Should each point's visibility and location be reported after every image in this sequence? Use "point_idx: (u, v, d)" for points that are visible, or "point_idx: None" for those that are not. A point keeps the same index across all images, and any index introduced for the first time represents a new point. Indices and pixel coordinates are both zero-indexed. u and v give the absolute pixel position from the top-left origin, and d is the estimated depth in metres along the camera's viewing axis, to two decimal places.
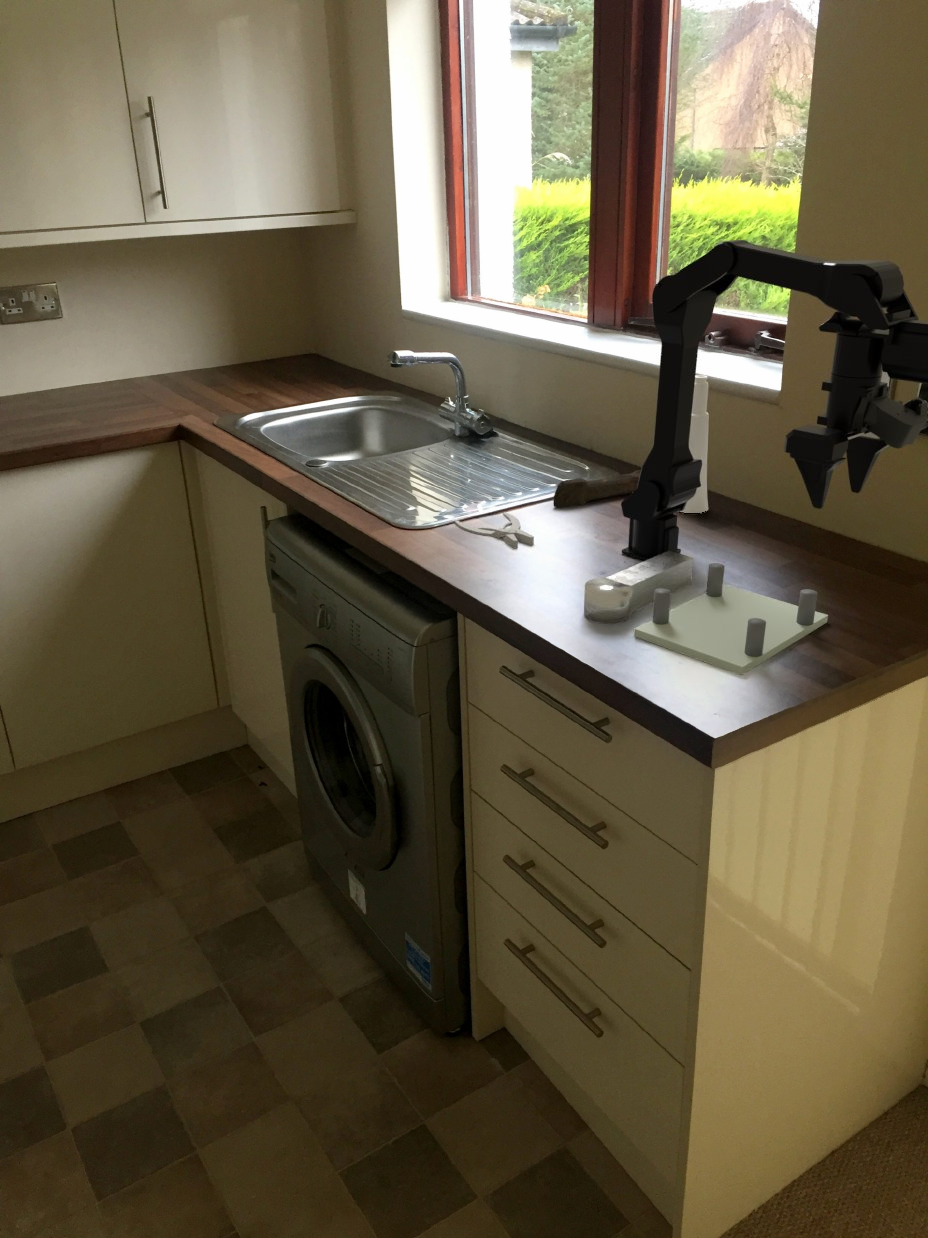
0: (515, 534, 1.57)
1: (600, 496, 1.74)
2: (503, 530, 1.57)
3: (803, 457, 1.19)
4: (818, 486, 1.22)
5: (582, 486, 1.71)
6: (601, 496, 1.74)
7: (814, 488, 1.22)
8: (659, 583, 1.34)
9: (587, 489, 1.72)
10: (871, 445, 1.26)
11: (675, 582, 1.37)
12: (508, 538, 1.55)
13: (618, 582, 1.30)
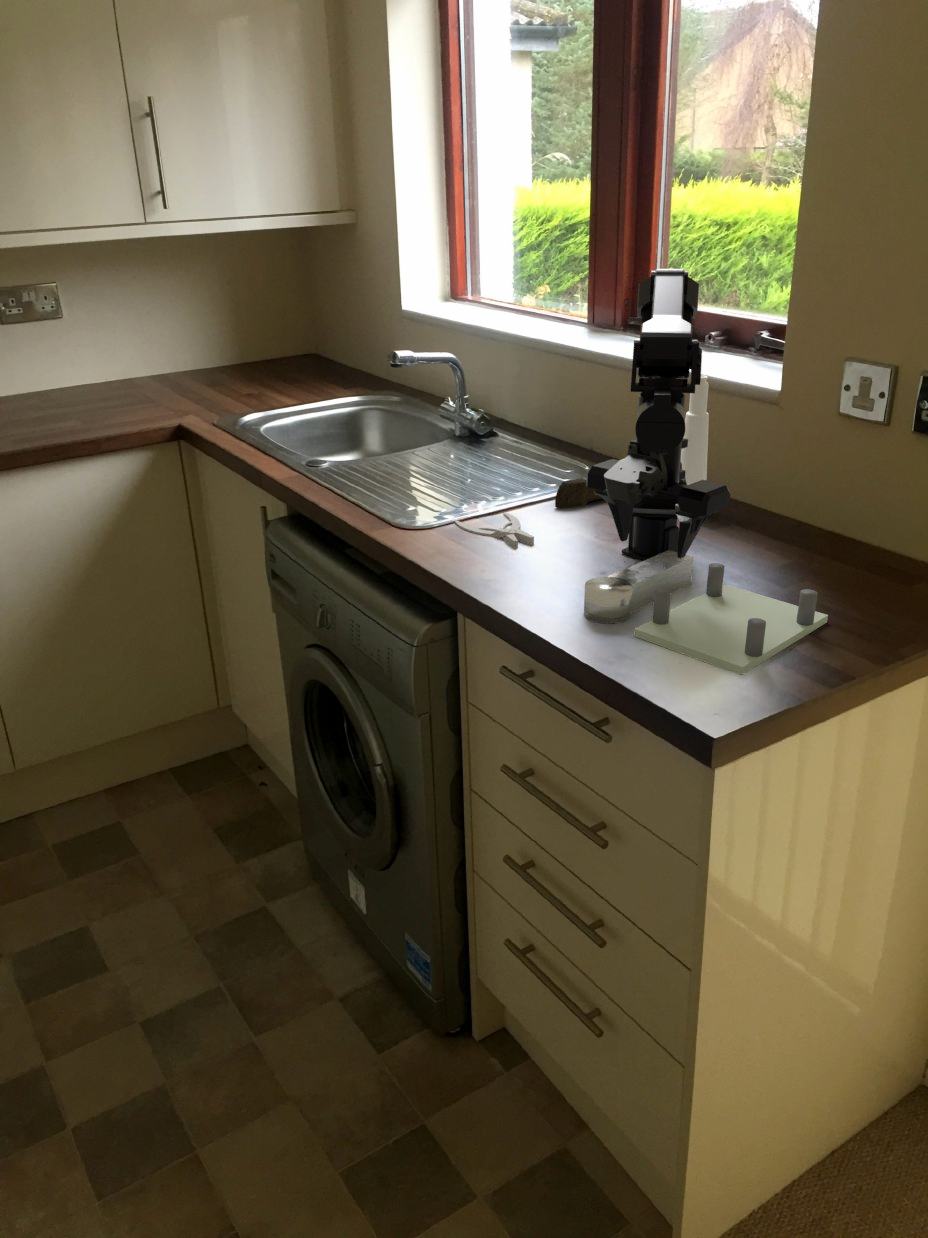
0: (515, 534, 1.56)
1: None
2: (503, 530, 1.57)
3: None
4: None
5: (583, 486, 1.71)
6: None
7: None
8: (659, 582, 1.34)
9: (588, 489, 1.72)
10: None
11: (675, 581, 1.37)
12: (508, 538, 1.55)
13: (618, 581, 1.30)
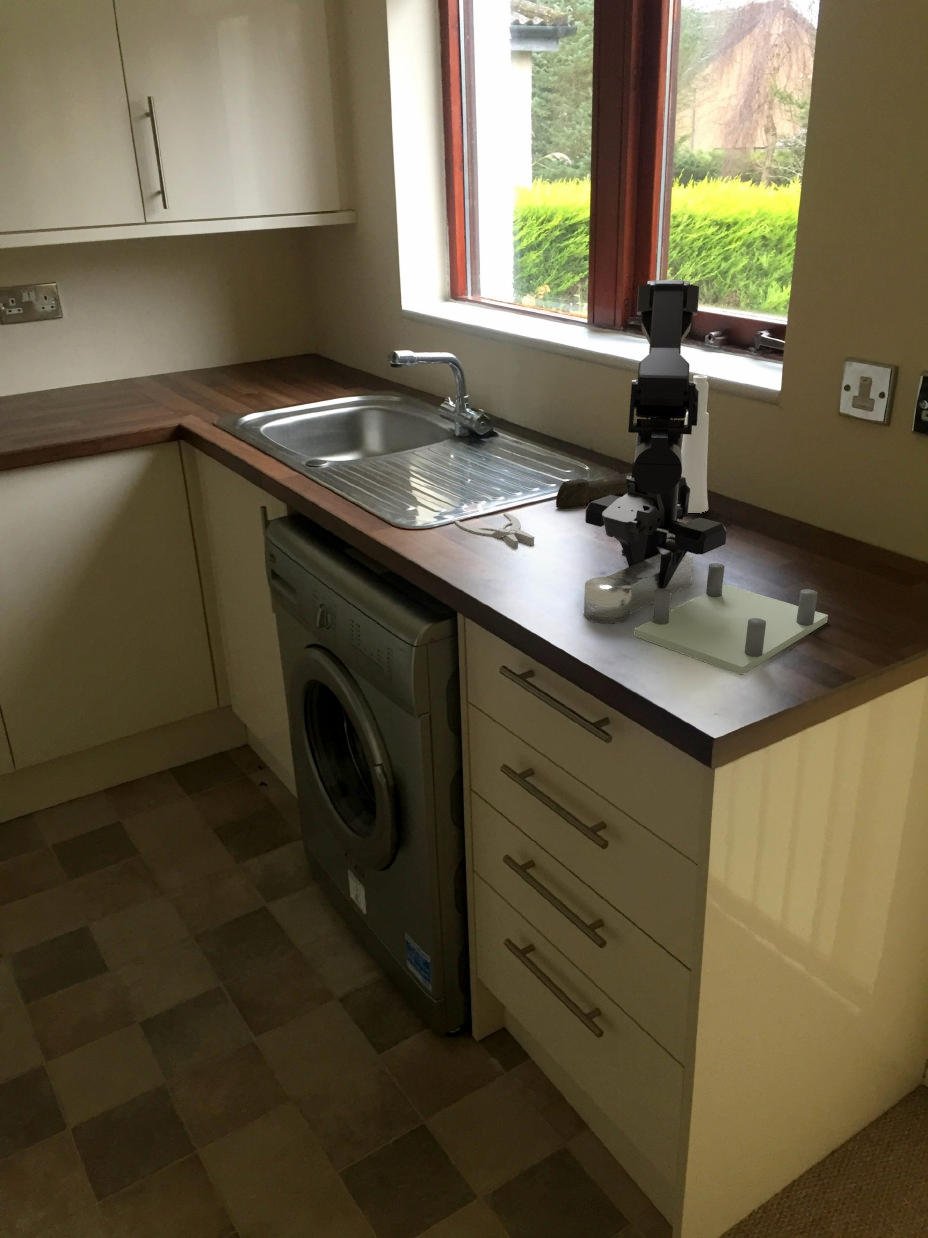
0: (515, 534, 1.56)
1: (601, 496, 1.74)
2: (503, 530, 1.57)
3: None
4: None
5: (584, 486, 1.71)
6: (602, 496, 1.74)
7: None
8: None
9: (589, 489, 1.72)
10: None
11: (675, 581, 1.37)
12: (508, 538, 1.55)
13: (618, 581, 1.30)
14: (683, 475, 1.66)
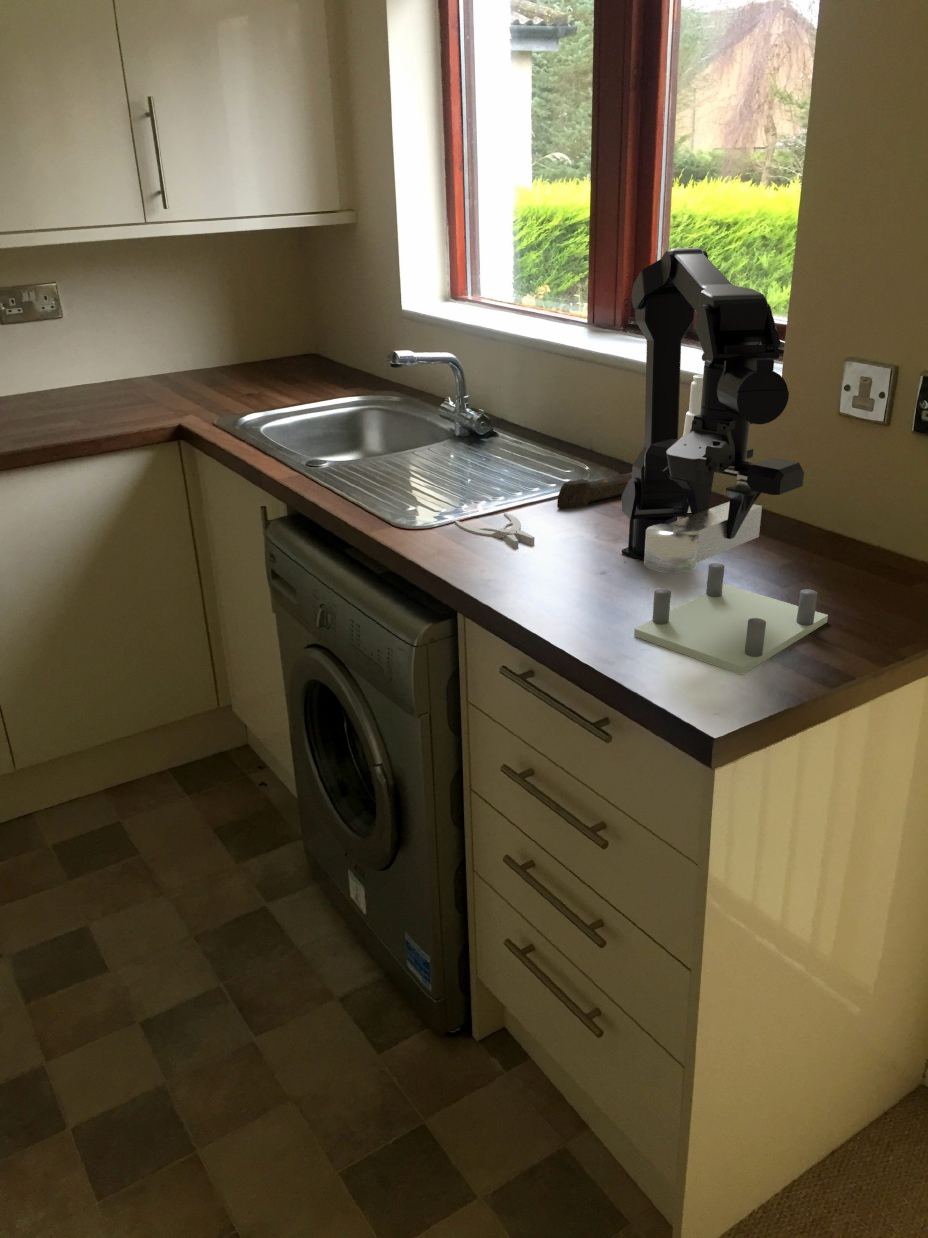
0: (516, 534, 1.56)
1: (602, 496, 1.73)
2: (504, 530, 1.57)
3: None
4: None
5: (585, 487, 1.71)
6: (603, 496, 1.74)
7: None
8: (726, 531, 1.22)
9: (590, 490, 1.71)
10: None
11: (743, 532, 1.24)
12: (509, 539, 1.55)
13: (682, 528, 1.18)
14: None
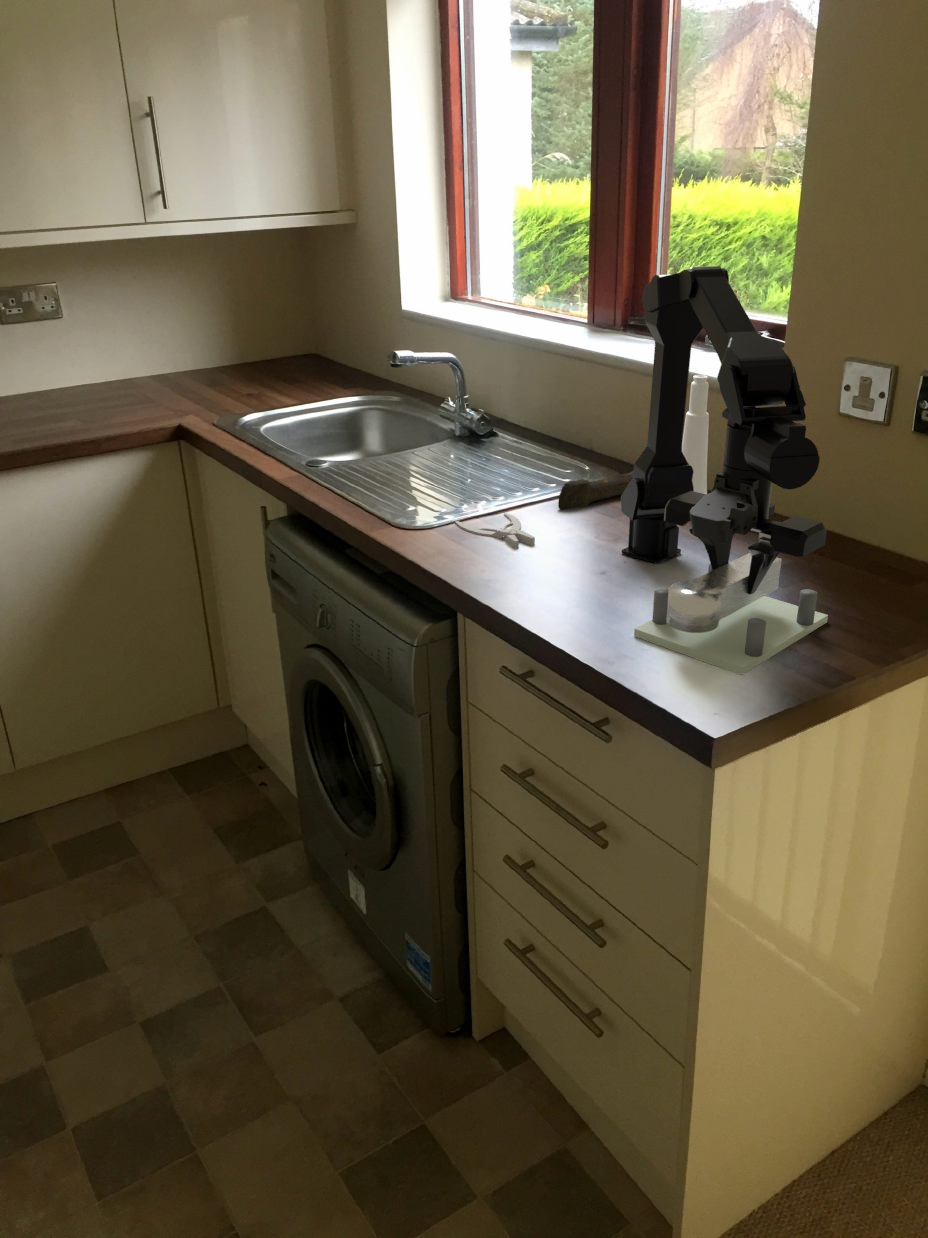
0: (516, 535, 1.56)
1: (602, 496, 1.73)
2: (504, 531, 1.57)
3: None
4: None
5: (586, 487, 1.70)
6: (603, 497, 1.74)
7: None
8: (747, 587, 1.22)
9: (590, 490, 1.71)
10: None
11: (763, 586, 1.25)
12: (509, 539, 1.55)
13: (705, 586, 1.18)
14: None
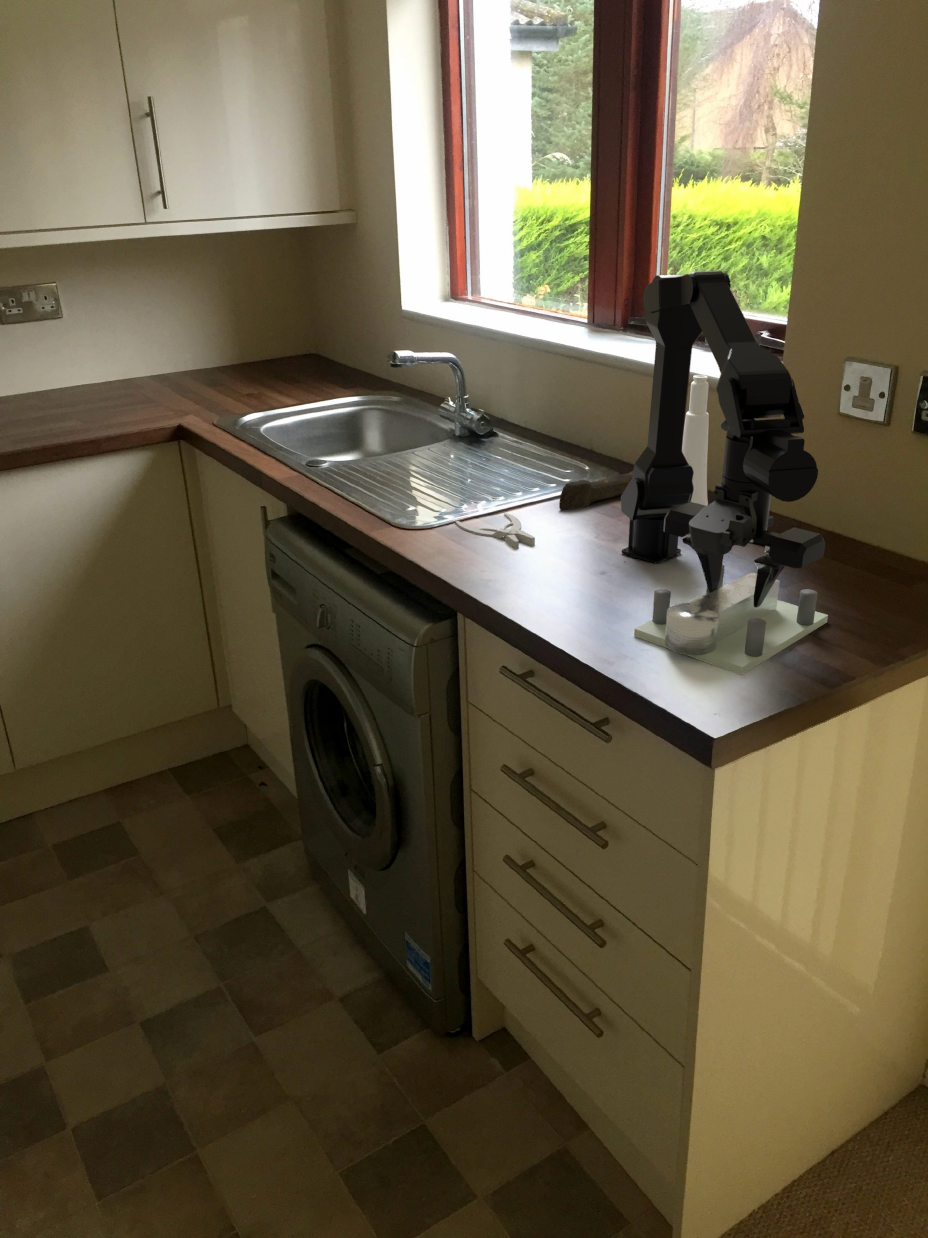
0: (516, 535, 1.56)
1: (603, 497, 1.73)
2: (504, 531, 1.57)
3: None
4: None
5: (587, 487, 1.70)
6: (604, 497, 1.74)
7: None
8: (745, 609, 1.23)
9: (591, 490, 1.71)
10: None
11: (761, 607, 1.26)
12: (509, 539, 1.55)
13: (703, 608, 1.19)
14: None
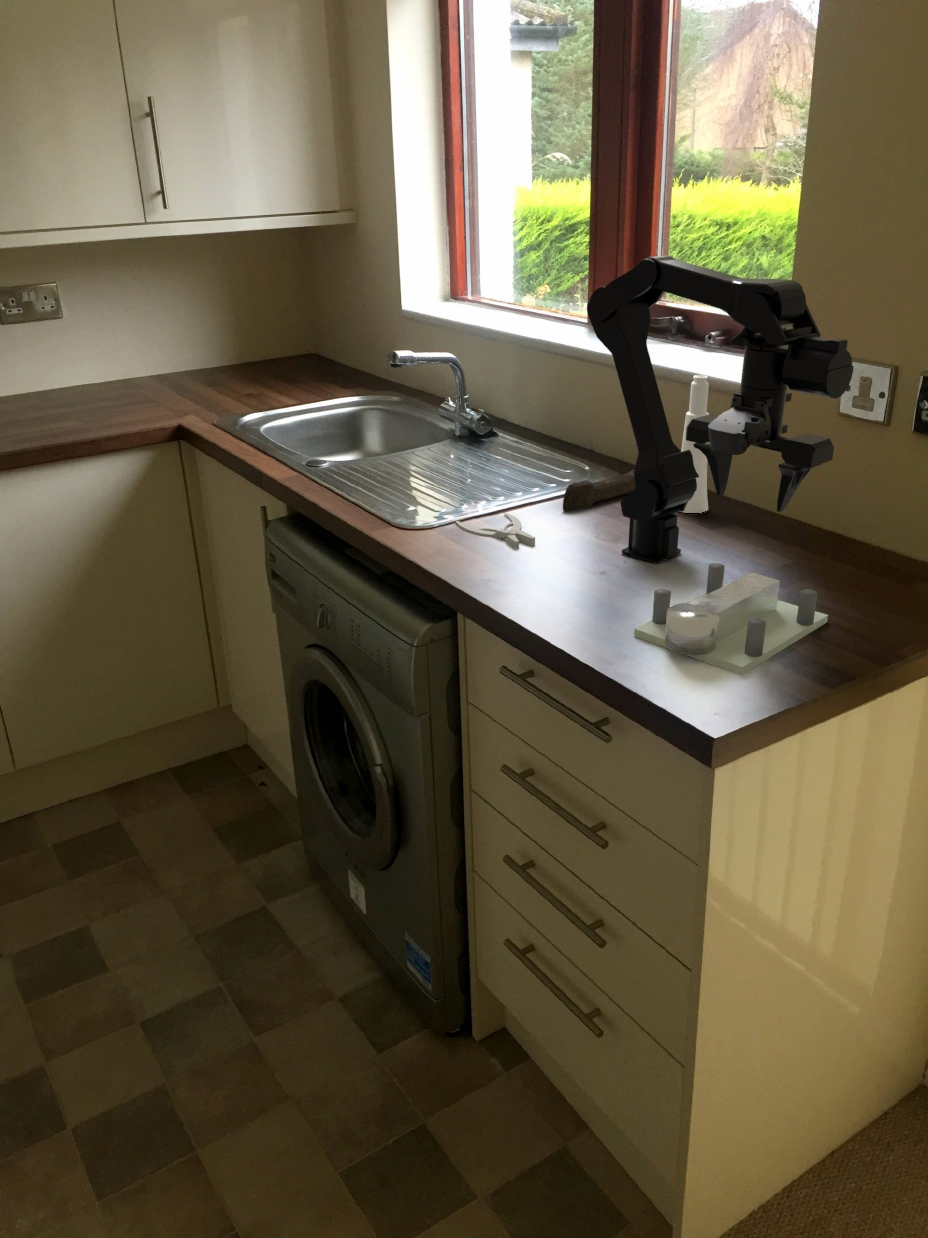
0: (516, 535, 1.56)
1: (605, 497, 1.73)
2: (504, 531, 1.57)
3: None
4: None
5: (589, 488, 1.70)
6: (605, 497, 1.73)
7: None
8: (745, 609, 1.23)
9: (593, 491, 1.71)
10: None
11: (761, 607, 1.26)
12: (509, 539, 1.55)
13: (703, 608, 1.19)
14: None
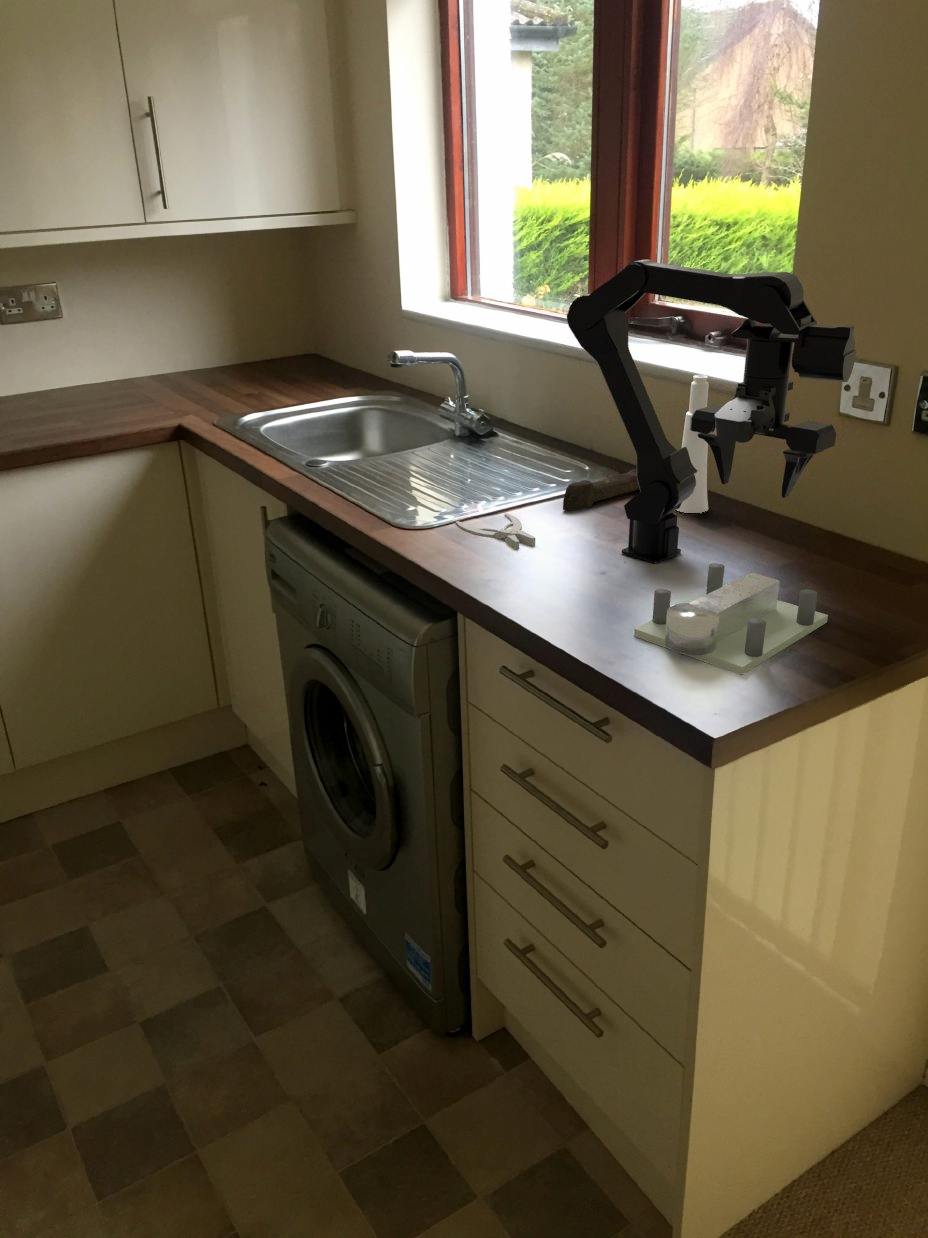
0: (516, 535, 1.56)
1: (604, 497, 1.73)
2: (504, 531, 1.57)
3: None
4: None
5: (589, 488, 1.70)
6: (605, 497, 1.73)
7: None
8: (745, 609, 1.23)
9: (593, 490, 1.71)
10: None
11: (761, 607, 1.26)
12: (509, 539, 1.55)
13: (703, 608, 1.19)
14: None
